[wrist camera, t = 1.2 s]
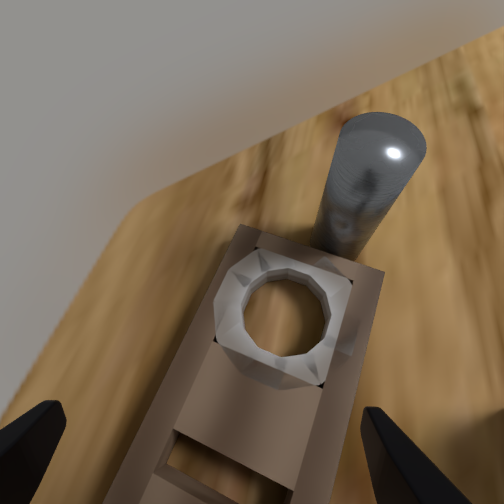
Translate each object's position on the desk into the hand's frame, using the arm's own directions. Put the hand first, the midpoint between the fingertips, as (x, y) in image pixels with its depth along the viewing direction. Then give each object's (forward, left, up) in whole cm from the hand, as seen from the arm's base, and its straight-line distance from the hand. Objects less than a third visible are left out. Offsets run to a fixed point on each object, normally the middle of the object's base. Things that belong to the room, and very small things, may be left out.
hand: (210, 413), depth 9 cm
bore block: (-1, -1, -14) cm, 14 cm away
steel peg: (-3, -14, -14) cm, 20 cm away
